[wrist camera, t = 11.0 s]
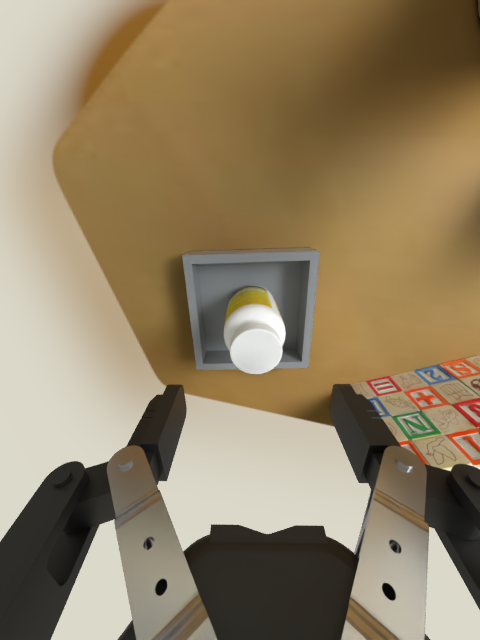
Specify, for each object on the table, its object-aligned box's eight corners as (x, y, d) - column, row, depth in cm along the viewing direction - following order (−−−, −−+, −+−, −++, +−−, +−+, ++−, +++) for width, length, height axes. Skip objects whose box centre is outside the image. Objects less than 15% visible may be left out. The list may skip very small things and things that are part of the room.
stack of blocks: (516, 344, 28) (697, 424, 17) (510, 383, 31) (666, 477, 19) (341, 386, 31) (397, 479, 20) (347, 419, 34) (401, 519, 22)
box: (190, 251, 24) (182, 255, 21) (309, 247, 24) (319, 251, 21) (201, 353, 29) (196, 370, 26) (301, 351, 29) (308, 367, 26)
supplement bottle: (217, 306, 26) (205, 351, 17) (253, 273, 25) (259, 303, 16) (250, 337, 28) (254, 393, 19) (285, 308, 26) (307, 353, 17)
